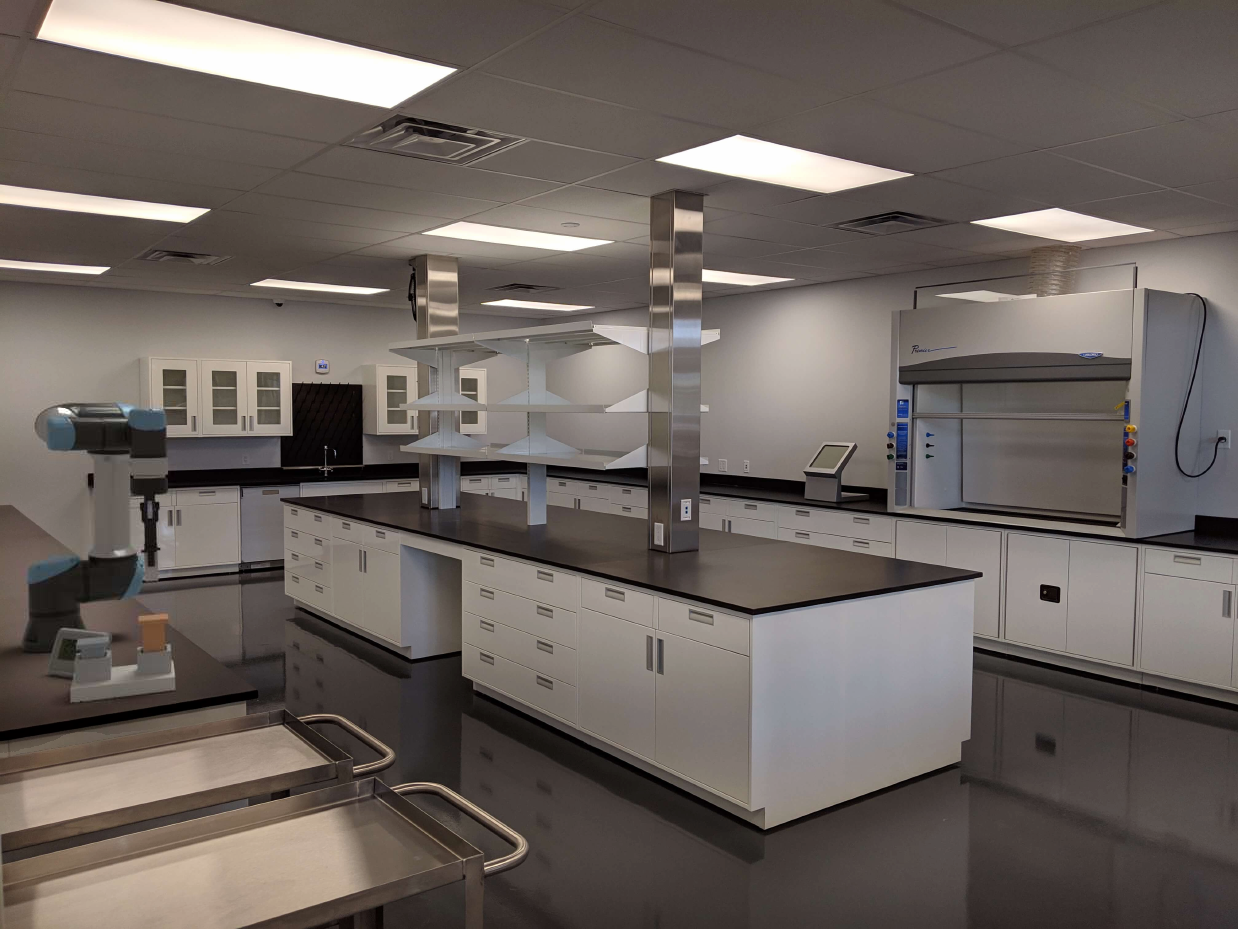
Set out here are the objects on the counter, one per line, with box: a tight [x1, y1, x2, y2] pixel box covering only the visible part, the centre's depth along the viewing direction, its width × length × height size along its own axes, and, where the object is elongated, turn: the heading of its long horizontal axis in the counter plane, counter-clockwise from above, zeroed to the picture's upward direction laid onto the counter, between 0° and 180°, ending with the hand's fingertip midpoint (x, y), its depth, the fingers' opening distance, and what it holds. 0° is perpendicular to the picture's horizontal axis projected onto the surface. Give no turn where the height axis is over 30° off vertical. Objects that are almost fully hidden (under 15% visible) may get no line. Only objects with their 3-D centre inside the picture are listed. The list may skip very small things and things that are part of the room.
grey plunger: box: [76, 636, 109, 659], centre depth 199 cm, size 6×6×8 cm
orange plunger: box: [137, 613, 169, 653], centre depth 204 cm, size 6×6×8 cm
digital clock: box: [46, 628, 113, 679], centre depth 211 cm, size 16×9×11 cm, turn 59°
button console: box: [69, 643, 176, 704], centre depth 202 cm, size 15×20×8 cm
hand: (151, 580), depth 204 cm, fingers closed
